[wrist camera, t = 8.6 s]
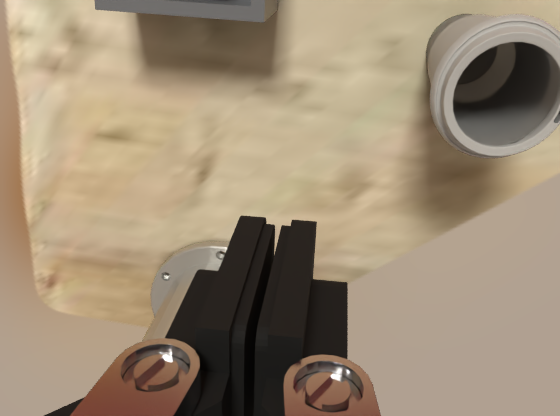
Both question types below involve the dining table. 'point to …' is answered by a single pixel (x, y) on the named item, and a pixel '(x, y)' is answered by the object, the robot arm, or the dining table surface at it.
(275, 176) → the dining table surface
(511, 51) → the cup
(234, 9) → the switch box
